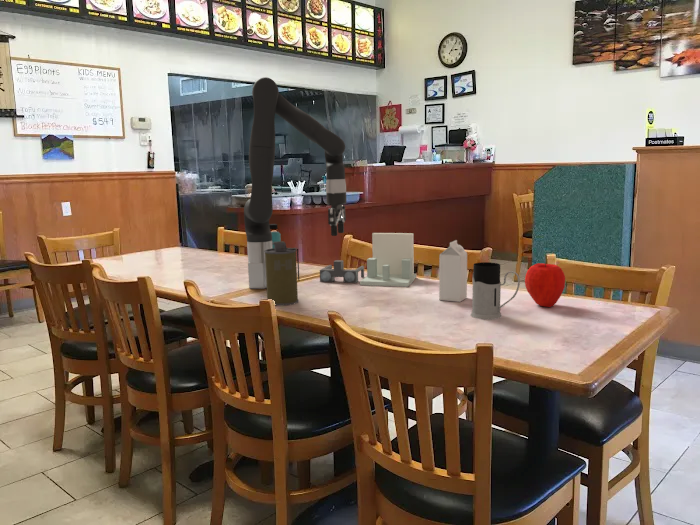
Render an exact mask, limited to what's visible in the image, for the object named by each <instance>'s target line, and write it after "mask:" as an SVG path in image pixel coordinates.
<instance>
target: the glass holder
mask: <svg viewBox="0 0 700 525" xmlns="http://www.w3.org/2000/svg"><path fill="white" fill-rule="evenodd" d="M472 269H473V271H472V296H471V298H472V299H471V300H472V306H471V307H472V310H471V313H470V316H471V317H472V318H475V319H479V320H497V319H500V318H502V312H501V308H502V307H504V306H505V305H506V304H508V303H510V302H511V301H512V300H513V299H514V298H515V297H516V295H517V294H518V291H519V288H520V284H521V278H520V276H519V274H518V273H517V272H516V271H513V270H511V271H508V272H506V273H505V274H504V278H503V283H502V282H501V264H500V263H498V262H490V261H489V262H482V261H481V262H476V263H475V262H474V263H473V267H472ZM511 273H513V274H514V275H516V277H517V288H516V290H515V292H514V294H513V295H512V296H511V298H509V299H508V300H507V301H505V302H504V303H503V304H502V305H501V287H502V286H504V285H505V284H506V283H507V282H506V281H507V276H508V275H509V274H511Z"/></svg>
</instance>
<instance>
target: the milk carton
mask: <svg viewBox="0 0 700 525" xmlns="http://www.w3.org/2000/svg"><path fill="white" fill-rule="evenodd" d="M438 260H439V262H438V264H439V269H438V270H439V271H438V272H439V277H438V278H439V279H438V280H439V282H438V284H439V286H438V288H439V290H438V291H439V293H438V294H439V296H438V297H439V300H440V301H446V302H447V301H449V302H458V303H459V302H460V303H461V302H462V301H464V300H465V299H467V297H468V292H467V291H468V252H467V251H466V250H465V248H464V247H463V246H462V245H461V244H459V243H458V240H457V239H455V240H453V241H450V242H449V246H448V247H447V248H445V249H444V251H442V252H440V253H439V259H438Z"/></svg>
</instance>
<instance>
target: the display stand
mask: <svg viewBox="0 0 700 525" xmlns="http://www.w3.org/2000/svg"><path fill="white" fill-rule="evenodd" d="M371 237H372V239H371V242H372V246H371V248H372V257H369V258H367V259H366V276H364V277H363V279H361V280H360V281H359V284H360V286H371V287H375V286H376V287H377V286H378V287H379V286H380V287H401V288H402V287H403V288H405V287H406V288H408V287H410V285H411V284H412V283H413V282H414V281H415V280H416V279H417V273H414V272H415V271H414V269H415V268H414V266H415V263H414V261H415V260H414V256H415V255H414V250H415V249H414V248H415V247H414V246H415V245H414V239H415V238H414V233H411V232H409V233H407V232H404V233H403V232H396V233H395V232H372V234H371ZM415 278H416V279H415ZM414 279H415V280H414Z"/></svg>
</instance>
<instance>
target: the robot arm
mask: <svg viewBox="0 0 700 525" xmlns="http://www.w3.org/2000/svg"><path fill="white" fill-rule="evenodd" d="M251 91H252V92H251V94H252V98H253V121H252V126H251V131H250V138H249V148H248V149H249V150H248V166H249V171H250V172H249V173H250V178H251V192H250V198H249V199H248V200H247V201H246V202H245V204H244V207H243V219H244V220H243V221H244V231H245V232H244V233H245V236H246V241H247V242H246V243H247V244H246V246H247V247H246V249H247V274H248V289H258V290H259V289H260V290H261V289H262V290H264V289H267V283H266V263H265V252H264V251H265V250H267V249H272V233H271V232H272V231H271V229H270V227H269V224H270V220H271V217H272V215H273V213H274V212H273V179H274V178H273V177H274V168H275V157H276V125H275V124H276V123H275V118H276V115H277V116H279V117H280V118H282V119H283V120H284V121H286V122H287V123H288V124H289V125H290V126H292V127H293V128H294V129H296V130H297V131H298V132H299V133H300V134H302V135H303V136H304V137H306V138H307V139H309V141H311V142H313V143H315V144H317V145H318V146H320V147H321V148H322V149H323V150H324V159H325V165H326V166H325V167H326V169H325V173H326V178H325V179H326V180H325V181H326V184H325V192H326V193H325V194H326V204H327V205H331V206H330V207H331V208H330V207H329V208H328V209H327V211H328V212H327V214H328V216H327V218H328V219H327V221H328V223H327V224H328V225H329V226H330V235H331V236H332V237H335V236H336V237H337V236H338V234H344V233H345V227H344V225H345V222H346V216H347V215H346V204H347V183H346V182H347V181H346V169H345V164H344V160H343V158H344V156H343V155H344V152H345V149H346V144H345V141H344V140H343V139H342V138H341V137H340V136H338V135H337V134H336V133H334V132H333V131H331V130H329V129H327V128H326V127H325V125H323V124H322V123H320V122H319V121H318V120H317V119H315V118H314V117H312V116H311V115H310V114H309V113H308V112H305V111H304V110H302V109H301V108H299V107H296V106H295V105H293V103H291V102H290V101H288V99H286V98H285V97H284V96H283V95H282V94H281V93H280V91H279V87H278V85H277V83H276V81H275V80H273V79H272V78H270V77H267V76H266V77H260V78H258V79H257V80H256V81H255V82H254V84H253V86H252V90H251Z"/></svg>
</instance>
